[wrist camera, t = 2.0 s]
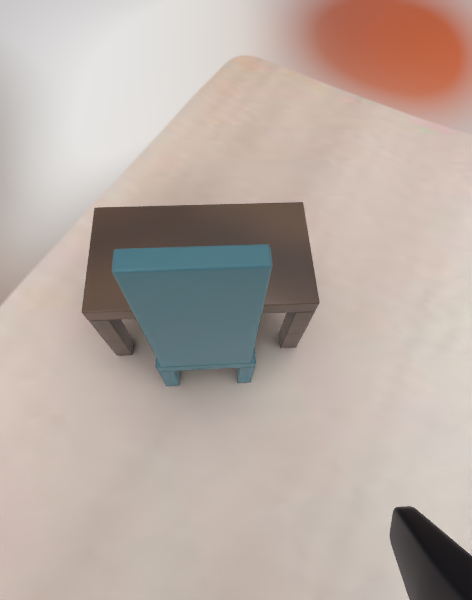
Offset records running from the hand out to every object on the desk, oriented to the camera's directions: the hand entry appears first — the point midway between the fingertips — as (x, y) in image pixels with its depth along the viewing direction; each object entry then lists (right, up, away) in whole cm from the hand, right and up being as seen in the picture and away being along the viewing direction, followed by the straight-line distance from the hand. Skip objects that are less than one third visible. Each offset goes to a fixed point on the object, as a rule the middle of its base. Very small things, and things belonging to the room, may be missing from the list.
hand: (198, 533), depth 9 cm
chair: (-1, +3, +15) cm, 16 cm away
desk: (-1, +5, +16) cm, 17 cm away
